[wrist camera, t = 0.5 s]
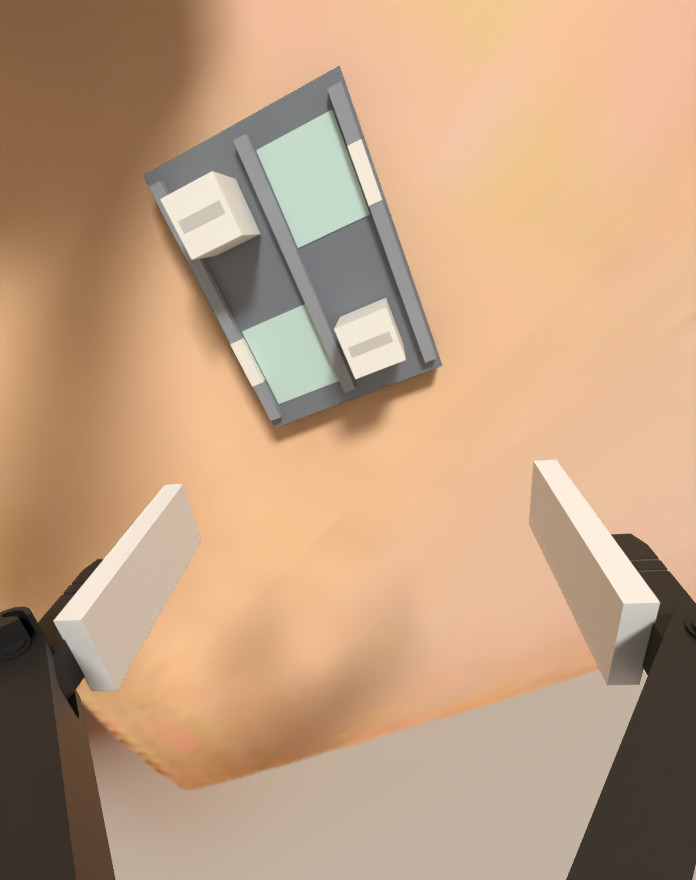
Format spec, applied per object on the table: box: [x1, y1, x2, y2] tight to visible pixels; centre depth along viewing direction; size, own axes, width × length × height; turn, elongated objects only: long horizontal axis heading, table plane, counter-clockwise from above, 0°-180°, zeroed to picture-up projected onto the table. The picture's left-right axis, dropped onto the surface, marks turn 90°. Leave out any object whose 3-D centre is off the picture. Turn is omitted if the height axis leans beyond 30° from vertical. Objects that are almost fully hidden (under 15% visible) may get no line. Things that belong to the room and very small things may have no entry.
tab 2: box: [334, 298, 406, 379], centre depth 35 cm, size 4×4×5 cm
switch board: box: [143, 66, 442, 428], centre depth 36 cm, size 22×16×3 cm
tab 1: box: [160, 171, 260, 260], centre depth 32 cm, size 4×4×5 cm
